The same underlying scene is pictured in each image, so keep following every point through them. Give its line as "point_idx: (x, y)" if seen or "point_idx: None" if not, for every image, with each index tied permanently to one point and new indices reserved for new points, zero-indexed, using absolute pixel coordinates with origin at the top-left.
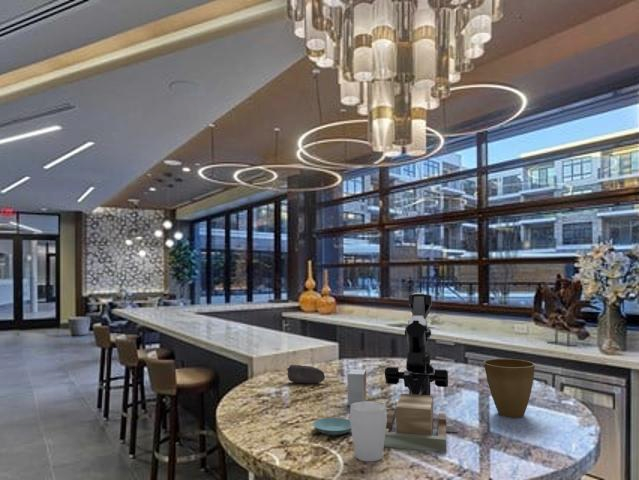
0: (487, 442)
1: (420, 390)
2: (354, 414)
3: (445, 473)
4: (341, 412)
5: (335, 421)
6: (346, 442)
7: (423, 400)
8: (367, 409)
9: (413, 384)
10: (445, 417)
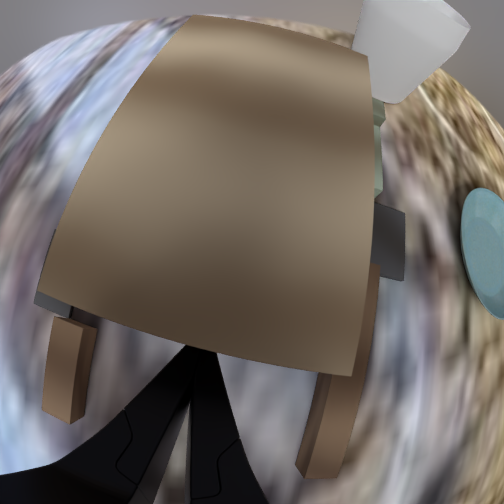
0: (22, 154)
1: (121, 418)
2: (437, 7)
3: (215, 16)
4: (470, 446)
5: (498, 309)
6: (443, 164)
7: (168, 132)
8: (439, 36)
9: (200, 494)
10: (49, 346)
